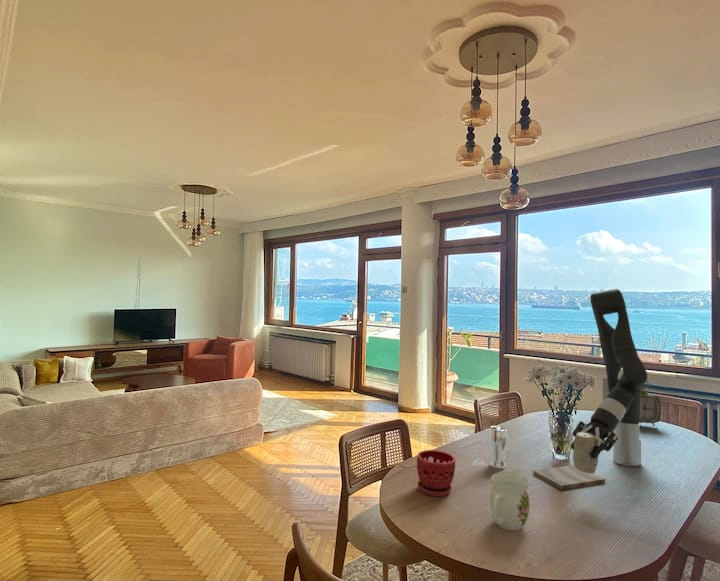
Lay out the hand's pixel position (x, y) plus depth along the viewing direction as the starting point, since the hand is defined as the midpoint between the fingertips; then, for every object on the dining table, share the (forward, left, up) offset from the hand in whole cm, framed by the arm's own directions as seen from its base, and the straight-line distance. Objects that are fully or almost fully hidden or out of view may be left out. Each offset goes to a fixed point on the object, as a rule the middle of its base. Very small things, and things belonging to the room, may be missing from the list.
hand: (582, 453), depth 142 cm
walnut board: (-10, -16, -16) cm, 25 cm away
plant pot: (+43, -21, -16) cm, 50 cm away
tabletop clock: (-102, -59, -16) cm, 119 cm away
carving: (-2, 0, -6) cm, 6 cm away
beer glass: (+8, -34, -16) cm, 39 cm away
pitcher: (+34, +6, -16) cm, 38 cm away
